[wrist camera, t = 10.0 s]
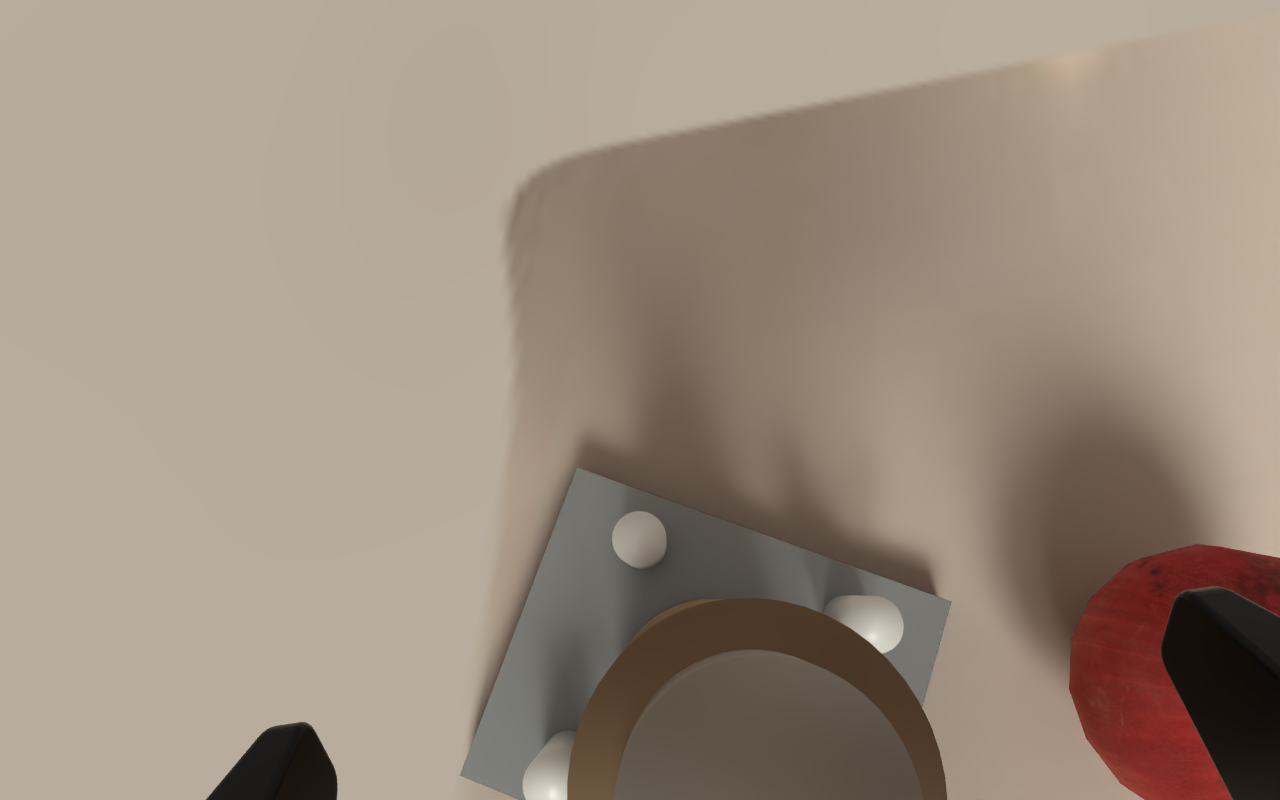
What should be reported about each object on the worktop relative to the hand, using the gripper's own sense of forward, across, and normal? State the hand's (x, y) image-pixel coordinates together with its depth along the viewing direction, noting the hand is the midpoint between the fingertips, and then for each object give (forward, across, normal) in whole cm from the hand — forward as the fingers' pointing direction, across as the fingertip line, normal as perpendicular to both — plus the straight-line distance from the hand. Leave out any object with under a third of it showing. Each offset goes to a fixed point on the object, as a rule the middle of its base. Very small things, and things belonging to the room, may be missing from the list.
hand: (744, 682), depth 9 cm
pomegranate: (+8, -11, +12) cm, 18 cm away
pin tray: (+9, 0, +11) cm, 14 cm away
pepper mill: (+8, 0, +10) cm, 13 cm away
